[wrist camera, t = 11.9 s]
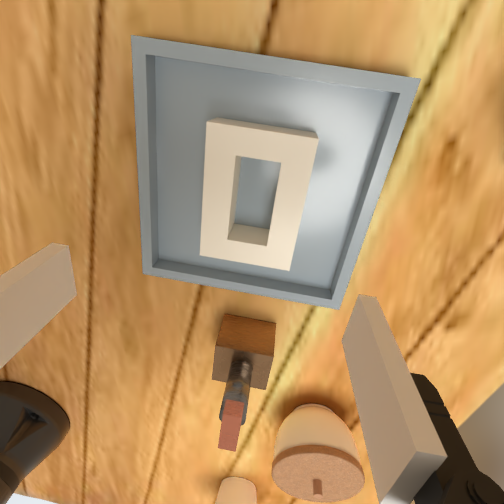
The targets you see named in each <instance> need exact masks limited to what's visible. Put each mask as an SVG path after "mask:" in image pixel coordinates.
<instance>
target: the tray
mask: <svg viewBox="0 0 504 504" xmlns="http://www.w3.org/2000/svg"><path fill="white" fill-rule="evenodd" d="M131 46H132V66H133V86H134V106H135V126H136V147H137V167H138V187H139V207H140V228H141V248H142V268H143V274H146V275H152V276H157V277H162V278H168V279H173V280H179V281H184V282H190V283H195V284H201V285H206V286H212V287H217V288H223V289H228V290H234V291H239V292H245V293H250V294H256V295H261V296H267V297H272V298H278V299H283V300H288V301H294V302H299V303H305V304H310V305H316V306H321V307H327V308H332V309H338V310H339V309H340V306H341V303H342V300H343V297H344V295H345V292H346V289H347V286H348V283H349V280H350V278H351V275H352V272H353V269H354V266H355V263H356V261H357V258H358V255H359V252H360V249H361V247H362V244H363V241H364V238H365V235H366V232H367V230H368V227H369V224H370V221H371V218H372V216H373V213H374V210H375V207H376V204H377V201H378V199H379V196H380V193H381V190H382V187H383V185H384V182H385V179H386V176H387V173H388V170H389V168H390V165H391V162H392V159H393V156H394V153H395V151H396V148H397V145H398V142H399V139H400V137H401V134H402V131H403V128H404V125H405V122H406V120H407V117H408V114H409V111H410V108H411V106H412V103H413V100H414V97H415V94H416V91H417V89H418V86H419V83H420V80H421V79H419V78H412V77H405V76H399V75H392V74H386V73H379V72H372V71H366V70H359V69H353V68H346V67H339V66H333V65H326V64H320V63H313V62H306V61H300V60H293V59H287V58H280V57H273V56H267V55H260V54H254V53H247V52H240V51H234V50H227V49H221V48H214V47H207V46H201V45H194V44H188V43H181V42H174V41H168V40H161V39H155V38H148V37H141V36H135V35H131ZM217 117H219V118H225V119H231V120H238V121H244V122H251V123H257V124H264V125H270V126H277V127H283V128H290V129H296V130H303V131H309V132H316V134H317V136H318V138H319V142H318V146H317V150H316V155H315V159H314V164H313V168H312V173H311V177H310V182H309V186H308V190H307V195H306V199H305V204H304V208H303V213H302V217H301V221H300V226H299V230H298V235H297V239H296V244H295V248H294V253H293V257H292V261H291V266H290V270H289V271H287V270H281V269H275V268H270V267H264V266H258V265H252V264H247V263H241V262H235V261H229V260H224V259H218V258H212V257H206V256H201V255H200V239H201V219H202V200H203V181H204V161H205V142H206V123H207V121H209V120H212V119H214V118H217ZM280 167H281V163H280V162H273V161H267V160H261V159H255V158H248V157H241V166H240V175H239V184H238V193H237V203H236V212H235V221H234V224H240V225H246V226H252V227H258V228H264V229H270V224H271V219H272V213H273V207H274V201H275V196H276V190H277V184H278V178H279V172H280Z"/></svg>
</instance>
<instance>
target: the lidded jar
mask: <svg viewBox="0 0 504 504" xmlns="http://www.w3.org/2000/svg"><path fill="white" fill-rule="evenodd" d="M272 478H273V480H274V482H275V483H276V485H277V486H278V487H279V488H280V489H281V490H283V491H284V492H286V493H287V494H289V495H291V496H294V497H296V498H299V499H303V500H307V501H313V502H337V501H342V500H346V499H349V498H351V497H353V496H355V495H356V494H358V493H359V492H360V491H361V489H362V488H363V486H364V483H365V478H364V473H363V469H362V466H361V462H360V457H359V453H358V449H357V446H356V443H355V440H354V438H353V435H352V433H351V432H350V430H349V428H348V426H347V425H346V424H345V423H344V421H343V420H342V419H341V418H340V417H338V416H337V415H336V414H335V413H334V412H333V411H332V410H331V409H330V408H328V407H326V406H324V405H320V404H314V403H310V404H303V405H300V406H298V407H297V408H295V409H294V410H293V412H292V413H291V414H289V415H288V416H287V417H286V418H285V420H284V421H283V422H282V424H281V426H280V428H279V430H278V433H277V437H276V441H275V446H274V458H273V463H272Z"/></svg>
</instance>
